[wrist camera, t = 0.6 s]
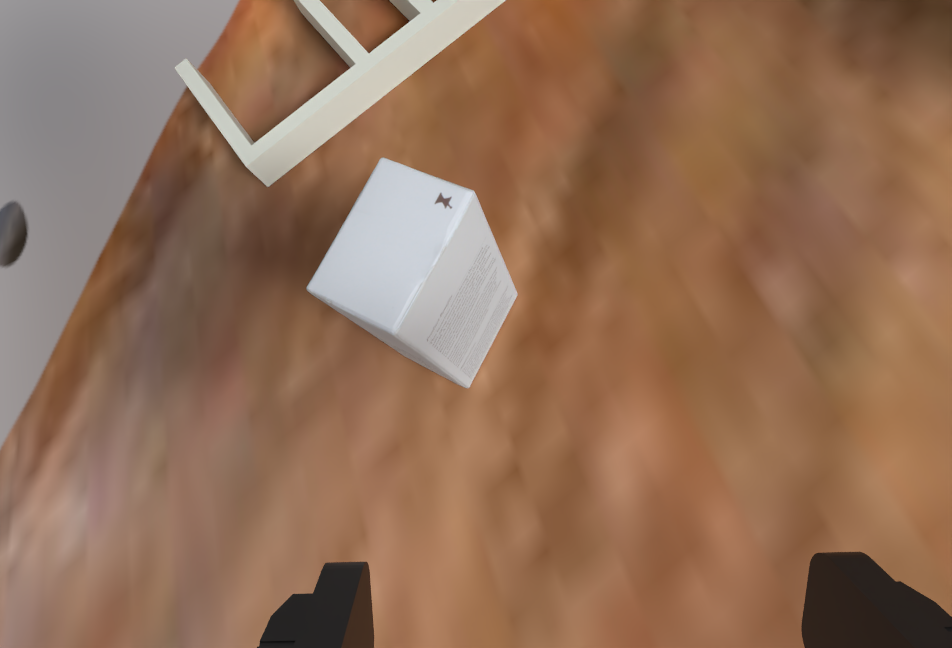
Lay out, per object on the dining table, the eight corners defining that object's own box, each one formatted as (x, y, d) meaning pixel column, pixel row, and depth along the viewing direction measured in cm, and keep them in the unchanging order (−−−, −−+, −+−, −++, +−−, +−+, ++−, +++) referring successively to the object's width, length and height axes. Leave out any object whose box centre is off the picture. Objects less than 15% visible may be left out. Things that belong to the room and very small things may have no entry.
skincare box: (453, 265, 33) (382, 149, 22) (519, 294, 32) (480, 188, 21) (401, 359, 33) (299, 288, 21) (468, 393, 31) (397, 337, 20)
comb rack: (469, -119, 41) (462, -157, 39) (561, -44, 38) (559, -79, 36) (198, 92, 41) (173, 67, 38) (267, 187, 37) (245, 166, 35)
